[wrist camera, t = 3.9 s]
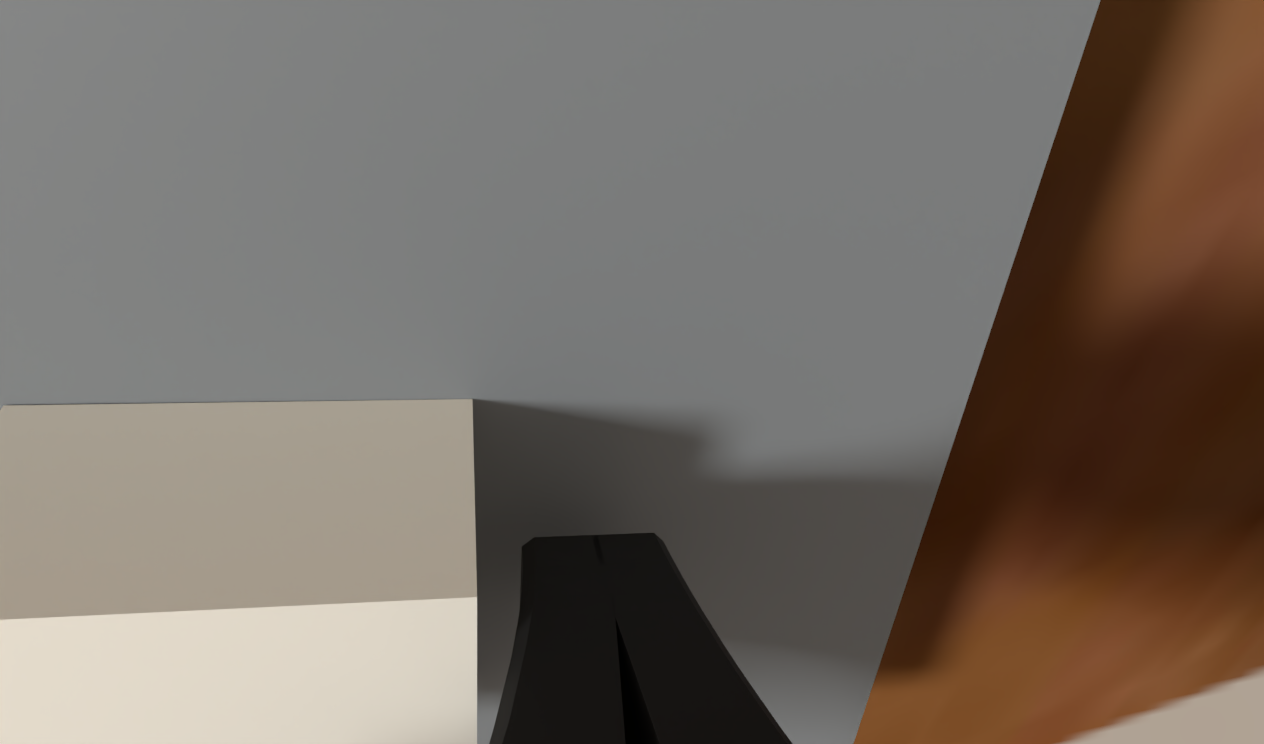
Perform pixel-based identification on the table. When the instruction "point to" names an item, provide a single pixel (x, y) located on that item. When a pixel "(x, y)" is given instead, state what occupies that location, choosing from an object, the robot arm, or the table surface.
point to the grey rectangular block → (558, 263)
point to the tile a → (238, 573)
